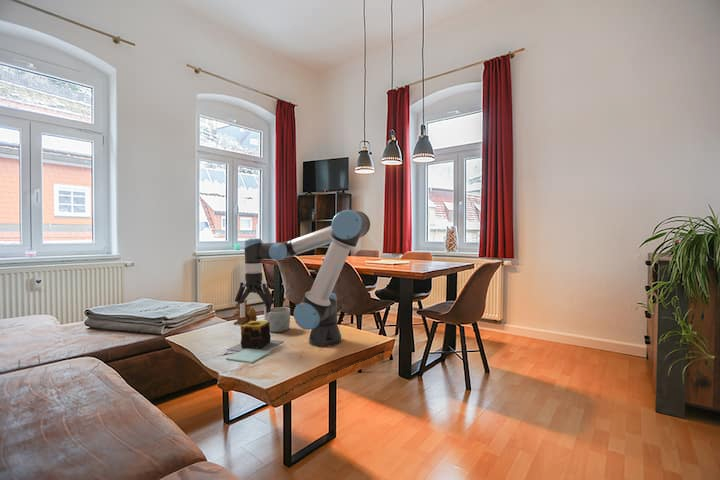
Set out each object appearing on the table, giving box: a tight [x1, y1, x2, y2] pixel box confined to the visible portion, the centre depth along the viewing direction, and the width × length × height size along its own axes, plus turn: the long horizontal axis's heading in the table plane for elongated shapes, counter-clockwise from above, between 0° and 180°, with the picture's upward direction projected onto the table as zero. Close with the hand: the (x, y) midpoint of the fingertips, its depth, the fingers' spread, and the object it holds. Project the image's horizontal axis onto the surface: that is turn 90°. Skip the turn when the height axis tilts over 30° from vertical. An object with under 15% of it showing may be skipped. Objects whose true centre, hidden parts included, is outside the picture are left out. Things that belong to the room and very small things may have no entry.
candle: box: [240, 320, 271, 349], centre depth 164 cm, size 10×10×10 cm
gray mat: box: [226, 339, 285, 353], centre depth 164 cm, size 18×18×1 cm
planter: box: [266, 306, 291, 333], centre depth 189 cm, size 12×12×11 cm
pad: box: [226, 348, 272, 364], centre depth 150 cm, size 13×13×1 cm
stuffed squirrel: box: [232, 299, 258, 325], centre depth 206 cm, size 10×14×13 cm
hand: (254, 318), depth 164 cm, fingers open, 13 cm apart
